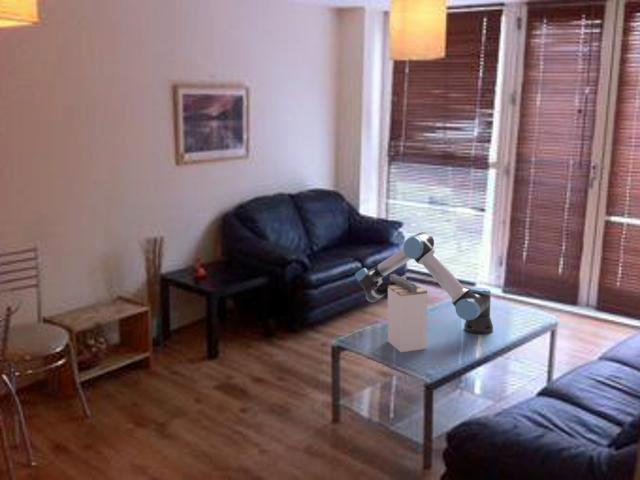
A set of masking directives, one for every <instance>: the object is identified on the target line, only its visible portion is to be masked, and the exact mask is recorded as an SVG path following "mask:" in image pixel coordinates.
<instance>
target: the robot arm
mask: <svg viewBox="0 0 640 480" xmlns="http://www.w3.org/2000/svg"><path fill="white" fill-rule="evenodd" d="M434 246H435V240H434V237H433V236H432V234H430V233H428V232H425V231H424V232H423V231H422V232H418V233H417V234H414V235H411V236H409V237H407V239H406V240H405V241H404V242H403V248H402V249H400V250H399V251H397V252H396V253H394V254H392V255H391V256H390V257H388V258H386V259H385V260H383V261H382V262H380V263H378V264H377V265H376V266H374V267H372V268H371V269H367V268H366V267H363V268H362V269H360V270H358V271H356V273H355V274H354V275H355V278H356V280H357V281H358V283H359V284H360V286H361V287H362V289H363V291H364V292H365V298H366V300H367V301H368V302H369V303H374V302H377V301H379V299H381V298H382V297H384V296H385V295H386V294H388V286H390V285H397V284H396V283H394V282H392V281H391V280H389V281H383V278H384V277H386V276H387V275H388V274H389V275H390V274H391V272H394V271H395V270H396V269H398V268H400V267H401V266H403V265H405V264H406V263H407V262H409V261H411V260H414V261H415V262H416V263H417V264H418V265H422V266H423V267H424V268H425V269H426V271H427V272H428V273H429V274H430V275H431V276H432V278H434V280H435V281H436V282H437V283H438V284H439V286H441V288H442V289H443V290H444V291H445V293H446V294H447V295H448V296H449V297H450V298H451V304H452V305H453V306H454V307H455V313H456V315H457V316H458V317H459V318H460V319H462V320H464V327H463V328H464V329H463V330H464V331H466V332H468V333H471V334H477V335H487V334H491V333H493V331H494V326H493V322H492V318H491V301H492V300H491V299H492V298H491V297H492V294H491V290H490V289H488V288H484V287H475V286H474V287H469V288H465V287H464V286H463V285H462V283H461V282H460V281H459V280H458V279H457V278H456V276H455V275H454V274H453V273H452V272H451V271H450V270H449V269H448V267H447V266H446V265H445V264H444V263H443V262H442V261H441V259H440V258H439V257H438V256H437V255H436V253H435V248H434ZM400 277H401V278H403V279H405V280H407V275H406V274H404V275H402V276H400Z"/></svg>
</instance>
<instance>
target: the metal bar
mask: <svg viewBox="0 0 640 480" xmlns="http://www.w3.org/2000/svg"><path fill="white" fill-rule="evenodd" d="M401 277H402V276H400V275H398V274H396V273H389V281H391V282H394V283H396V284H397V285H399V286H401V287H402V288H404V289H406V290H407V291H409V292H411V293H414V292H417V286H418V285H417V284H416V285H417V286H416V285H414V284H415V283H414V284H412V283H413V282H410V281H409V280H407V279H406V280H405V279H403V278H401Z"/></svg>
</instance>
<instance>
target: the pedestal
mask: <svg viewBox="0 0 640 480" xmlns="http://www.w3.org/2000/svg"><path fill="white" fill-rule="evenodd" d="M411 283H412V284H414V285H416V286H417V292H414V293H411V292H409V291H407V290H406V289H404V288H402V287H401V286H399V285H390V286H388V292H387V343H389V344H390V345H391V346H393V348H394V349H396V350H397V351H398V352H400V353H406V352H412V351H418V350H419V351H420V350H426V349H427V343H428V342H427V329H428V325H427V324H428V323H427V322H428V320H427V319H428V317H427V315H428V311H427V310H428V291H427V290H426V289H425V288H423V287H421V286H419V285H417V283H416V284H415V283H413V282H411Z"/></svg>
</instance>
